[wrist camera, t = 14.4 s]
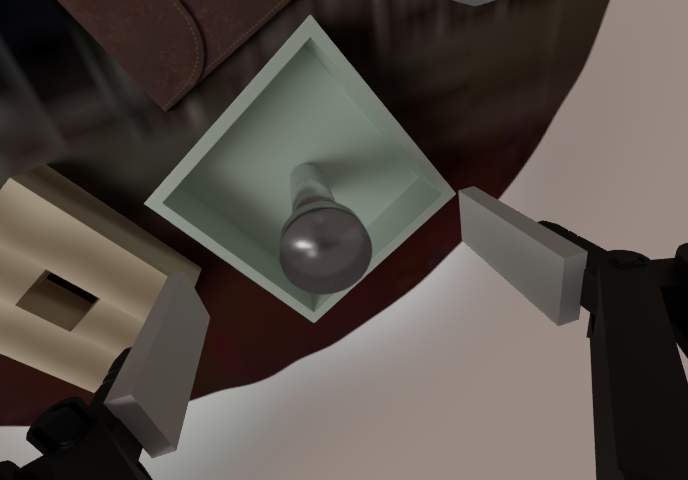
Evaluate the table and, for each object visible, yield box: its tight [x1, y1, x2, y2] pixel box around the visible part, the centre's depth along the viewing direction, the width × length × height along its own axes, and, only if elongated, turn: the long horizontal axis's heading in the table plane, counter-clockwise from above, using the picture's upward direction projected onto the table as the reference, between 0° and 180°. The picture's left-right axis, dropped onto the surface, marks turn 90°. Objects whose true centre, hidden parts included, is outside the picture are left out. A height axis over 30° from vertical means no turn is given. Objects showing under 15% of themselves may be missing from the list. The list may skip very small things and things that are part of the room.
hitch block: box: [0, 164, 202, 393], centre depth 29 cm, size 14×14×4 cm
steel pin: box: [279, 163, 372, 295], centre depth 23 cm, size 5×5×14 cm
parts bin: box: [144, 15, 456, 323], centre depth 28 cm, size 16×16×6 cm
